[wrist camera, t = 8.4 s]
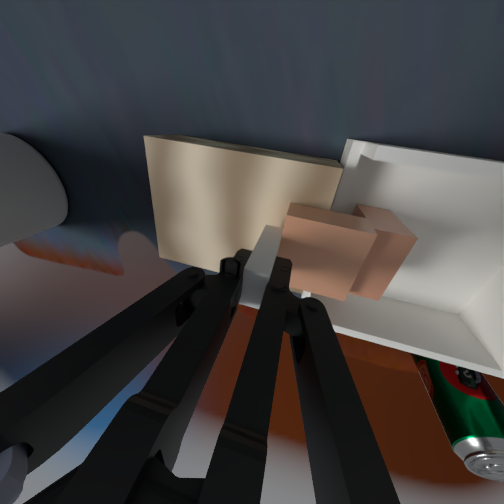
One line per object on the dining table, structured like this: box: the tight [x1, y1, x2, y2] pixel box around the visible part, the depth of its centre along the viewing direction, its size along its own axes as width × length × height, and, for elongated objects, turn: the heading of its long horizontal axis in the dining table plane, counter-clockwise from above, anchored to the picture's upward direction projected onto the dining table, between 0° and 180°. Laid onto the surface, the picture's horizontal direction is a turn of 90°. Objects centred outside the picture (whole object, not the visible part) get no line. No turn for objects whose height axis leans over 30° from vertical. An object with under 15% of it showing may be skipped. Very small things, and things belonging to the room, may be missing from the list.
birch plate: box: [144, 135, 343, 294], centre depth 21 cm, size 16×12×5 cm
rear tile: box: [349, 204, 418, 301], centre depth 19 cm, size 6×6×3 cm
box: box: [301, 139, 504, 379], centre depth 18 cm, size 18×16×7 cm
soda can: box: [411, 353, 504, 482], centre depth 21 cm, size 5×5×12 cm
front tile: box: [277, 202, 377, 301], centre depth 17 cm, size 6×6×3 cm
